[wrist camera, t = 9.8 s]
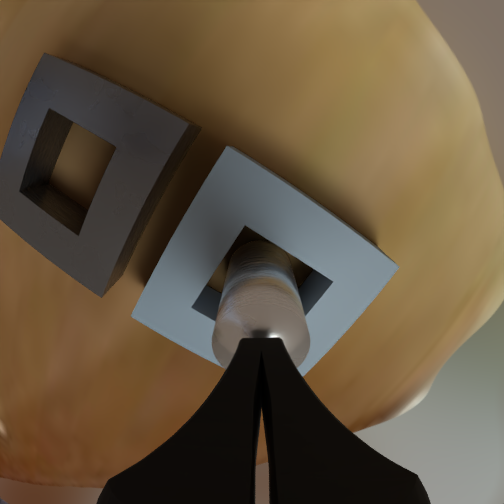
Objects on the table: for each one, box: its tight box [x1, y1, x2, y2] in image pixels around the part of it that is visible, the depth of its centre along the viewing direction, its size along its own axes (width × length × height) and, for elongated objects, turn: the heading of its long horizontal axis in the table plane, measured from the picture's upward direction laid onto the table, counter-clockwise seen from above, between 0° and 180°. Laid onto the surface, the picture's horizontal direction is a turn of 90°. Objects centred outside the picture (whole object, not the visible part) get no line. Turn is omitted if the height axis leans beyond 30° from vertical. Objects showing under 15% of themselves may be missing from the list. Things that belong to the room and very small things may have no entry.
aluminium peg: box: [212, 240, 310, 369], centre depth 14 cm, size 4×4×7 cm
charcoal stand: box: [0, 53, 202, 298], centre depth 14 cm, size 10×10×3 cm
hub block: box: [131, 146, 399, 377], centre depth 16 cm, size 10×10×3 cm
